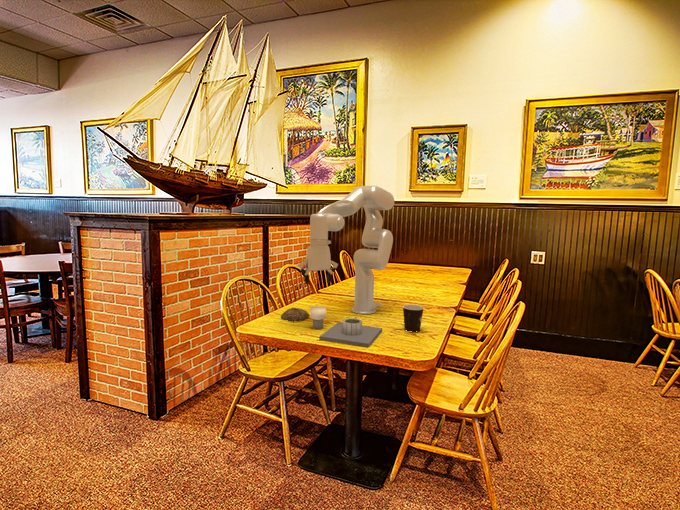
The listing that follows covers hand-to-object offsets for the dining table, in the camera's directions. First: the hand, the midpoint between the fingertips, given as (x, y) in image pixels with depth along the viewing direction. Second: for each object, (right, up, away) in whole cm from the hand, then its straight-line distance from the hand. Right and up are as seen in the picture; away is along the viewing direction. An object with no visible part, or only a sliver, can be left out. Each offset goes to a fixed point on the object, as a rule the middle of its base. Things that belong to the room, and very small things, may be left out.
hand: (318, 283), depth 157 cm
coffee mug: (+39, -20, +1) cm, 44 cm away
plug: (0, -19, +3) cm, 19 cm away
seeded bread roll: (-12, -18, +17) cm, 28 cm away
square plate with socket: (+14, -21, -7) cm, 26 cm away
